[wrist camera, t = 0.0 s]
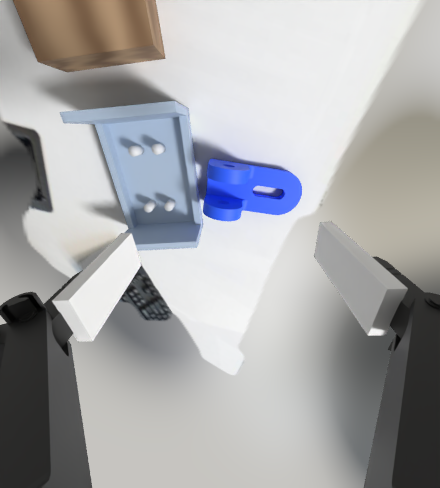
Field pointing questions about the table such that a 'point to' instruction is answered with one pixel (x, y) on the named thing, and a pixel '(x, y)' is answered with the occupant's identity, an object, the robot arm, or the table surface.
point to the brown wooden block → (91, 32)
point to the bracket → (247, 190)
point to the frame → (151, 170)
